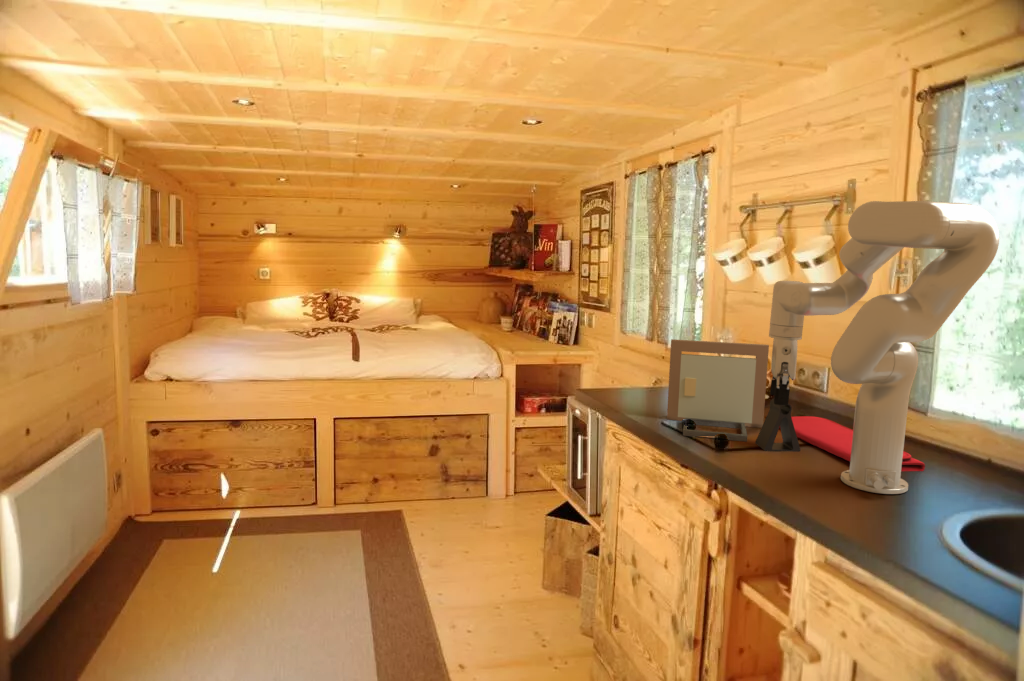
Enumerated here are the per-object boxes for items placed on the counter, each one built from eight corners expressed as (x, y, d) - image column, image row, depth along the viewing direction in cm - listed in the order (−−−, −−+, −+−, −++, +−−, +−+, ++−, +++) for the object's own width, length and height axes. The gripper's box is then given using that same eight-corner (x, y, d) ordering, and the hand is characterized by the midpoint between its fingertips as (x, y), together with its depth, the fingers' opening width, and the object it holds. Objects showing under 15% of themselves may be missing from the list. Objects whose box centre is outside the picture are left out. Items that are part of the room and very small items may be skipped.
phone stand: (790, 444, 171) (793, 398, 170) (800, 451, 165) (804, 403, 164) (754, 444, 171) (758, 397, 170) (764, 451, 165) (767, 403, 164)
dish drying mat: (822, 425, 193) (823, 413, 192) (926, 473, 153) (928, 457, 152) (770, 426, 191) (771, 413, 190) (862, 474, 151) (863, 458, 150)
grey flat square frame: (747, 441, 173) (747, 435, 173) (682, 435, 177) (683, 430, 177) (744, 428, 186) (744, 422, 186) (684, 422, 191) (684, 417, 191)
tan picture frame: (762, 428, 187) (769, 345, 183) (666, 419, 194) (671, 340, 190) (761, 424, 191) (767, 343, 188) (667, 416, 198) (671, 338, 195)
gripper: (807, 338, 155) (799, 410, 158) (797, 328, 172) (790, 393, 175) (772, 335, 157) (765, 406, 160) (766, 326, 174) (760, 390, 177)
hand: (778, 399), depth 167 cm, fingers open, 9 cm apart
